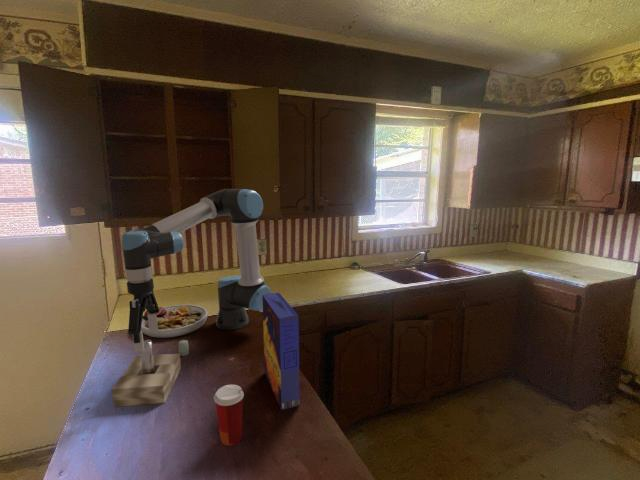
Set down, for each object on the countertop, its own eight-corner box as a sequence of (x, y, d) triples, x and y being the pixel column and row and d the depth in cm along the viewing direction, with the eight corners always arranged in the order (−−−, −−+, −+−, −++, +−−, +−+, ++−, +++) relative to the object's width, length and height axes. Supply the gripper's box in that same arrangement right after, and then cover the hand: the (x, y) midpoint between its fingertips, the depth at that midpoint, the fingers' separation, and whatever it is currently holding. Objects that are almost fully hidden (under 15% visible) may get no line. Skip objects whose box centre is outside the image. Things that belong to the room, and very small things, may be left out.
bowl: (217, 315, 179) (216, 300, 177) (190, 342, 150) (188, 325, 148) (161, 312, 182) (160, 298, 180) (124, 339, 153) (122, 322, 151)
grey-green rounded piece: (189, 351, 142) (189, 339, 141) (187, 355, 138) (186, 344, 137) (180, 351, 141) (179, 340, 140) (178, 356, 138) (177, 344, 137)
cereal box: (264, 373, 126) (262, 294, 121) (280, 369, 128) (279, 292, 123) (281, 410, 106) (278, 317, 101) (299, 405, 108) (298, 314, 103)
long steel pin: (157, 382, 120) (153, 339, 117) (154, 388, 117) (149, 344, 114) (146, 383, 120) (142, 340, 117) (142, 389, 116) (138, 345, 113)
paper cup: (247, 427, 99) (246, 383, 96) (242, 448, 91) (240, 400, 89) (220, 428, 99) (217, 383, 96) (212, 449, 91) (209, 401, 89)
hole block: (180, 368, 129) (179, 353, 128) (164, 402, 110) (163, 385, 109) (138, 371, 127) (136, 356, 126) (113, 406, 108) (111, 389, 107)
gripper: (141, 269, 123) (148, 324, 127) (109, 293, 99) (119, 361, 103) (163, 268, 124) (169, 323, 128) (137, 292, 100) (145, 359, 104)
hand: (147, 340), depth 116 cm, fingers open, 13 cm apart
